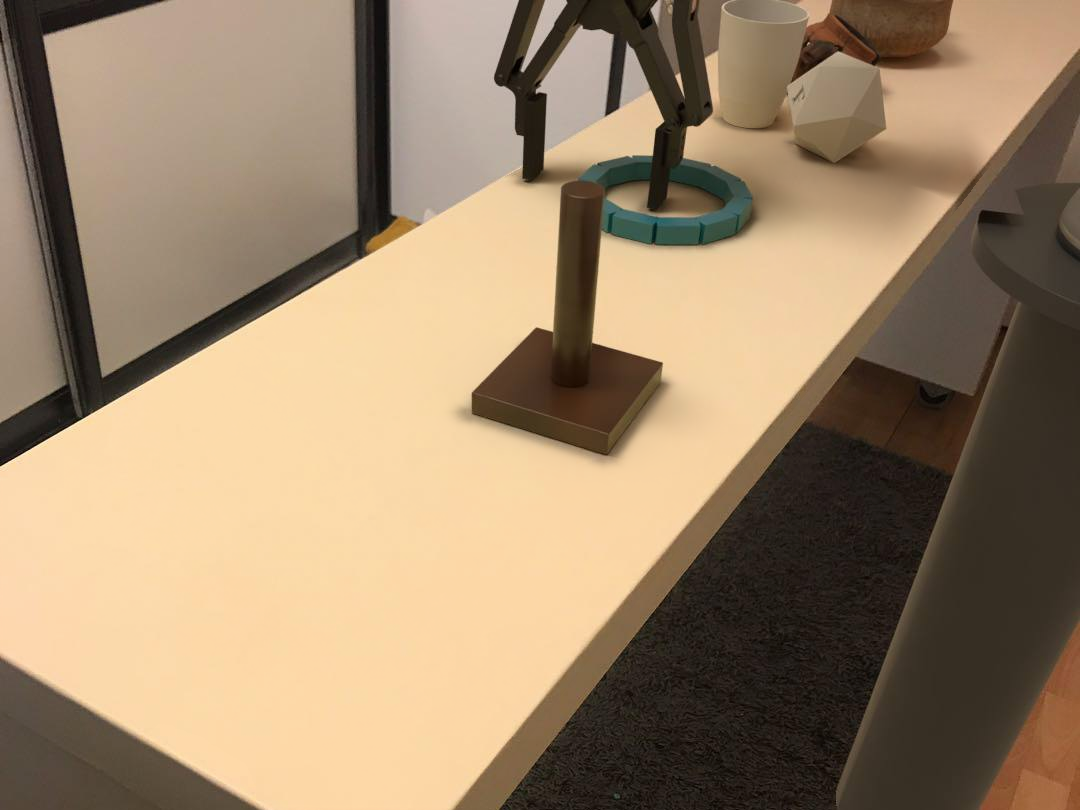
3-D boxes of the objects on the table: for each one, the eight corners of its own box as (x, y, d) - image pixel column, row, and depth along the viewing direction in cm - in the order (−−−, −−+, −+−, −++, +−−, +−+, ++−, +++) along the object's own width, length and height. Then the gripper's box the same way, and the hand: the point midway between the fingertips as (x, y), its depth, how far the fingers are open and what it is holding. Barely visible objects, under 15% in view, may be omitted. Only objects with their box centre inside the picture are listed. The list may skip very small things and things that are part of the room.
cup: (799, 115, 107) (820, 7, 101) (773, 140, 102) (793, 28, 95) (723, 99, 110) (739, -7, 103) (694, 122, 104) (708, 12, 98)
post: (660, 382, 69) (688, 177, 60) (606, 455, 62) (628, 239, 54) (535, 346, 71) (543, 145, 62) (471, 413, 65) (470, 200, 56)
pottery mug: (779, 73, 118) (831, 5, 114) (842, 129, 118) (897, 63, 113) (750, 72, 108) (806, -2, 104) (819, 134, 108) (878, 62, 103)
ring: (768, 194, 92) (771, 176, 91) (716, 260, 82) (719, 240, 81) (616, 161, 96) (618, 143, 95) (549, 219, 86) (550, 200, 85)
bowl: (838, 5, 134) (880, -79, 126) (938, 58, 132) (985, -24, 124) (795, 39, 121) (838, -52, 114) (904, 97, 119) (955, 9, 112)
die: (798, 132, 105) (766, 55, 98) (890, 95, 102) (864, 12, 94) (809, 195, 101) (776, 120, 94) (905, 158, 98) (879, 77, 90)
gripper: (449, -122, 77) (452, 174, 92) (757, -78, 70) (709, 236, 85) (496, -137, 82) (492, 146, 97) (788, -97, 75) (737, 202, 90)
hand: (593, 188), depth 91 cm, fingers open, 11 cm apart
